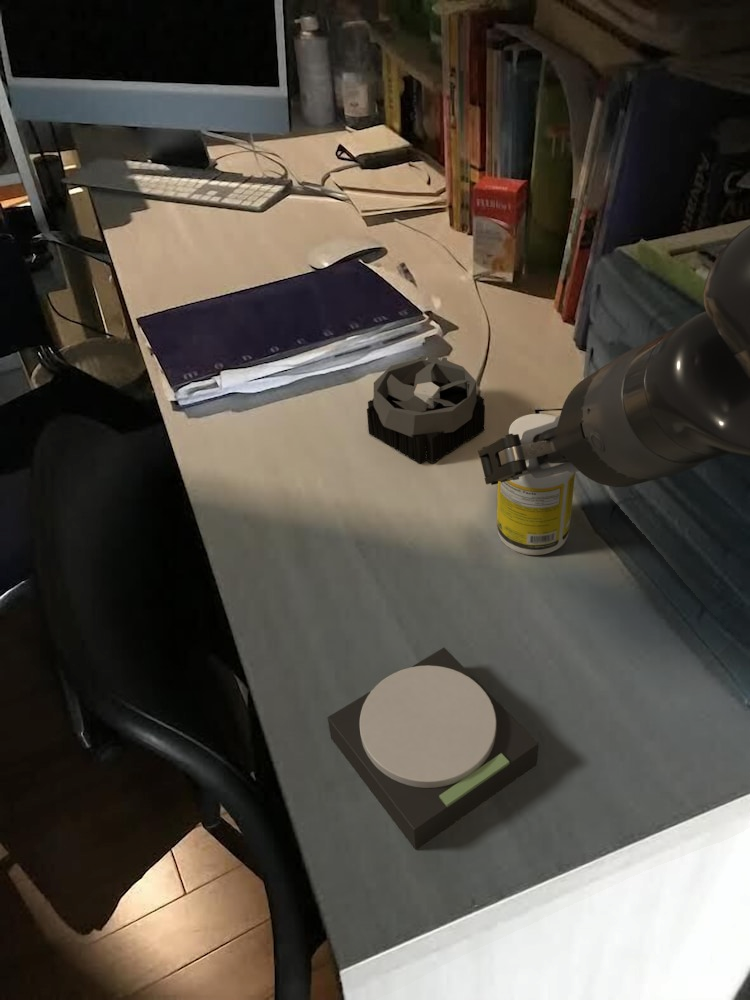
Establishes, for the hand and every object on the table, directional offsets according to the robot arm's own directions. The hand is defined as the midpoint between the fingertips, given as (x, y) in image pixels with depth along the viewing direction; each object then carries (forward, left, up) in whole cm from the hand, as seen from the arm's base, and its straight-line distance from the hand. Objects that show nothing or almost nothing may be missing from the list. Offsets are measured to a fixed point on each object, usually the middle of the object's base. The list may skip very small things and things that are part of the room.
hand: (552, 456), depth 65 cm
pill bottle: (+2, 0, -10) cm, 10 cm away
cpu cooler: (+20, -2, -10) cm, 22 cm away
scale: (-10, +20, -10) cm, 24 cm away
